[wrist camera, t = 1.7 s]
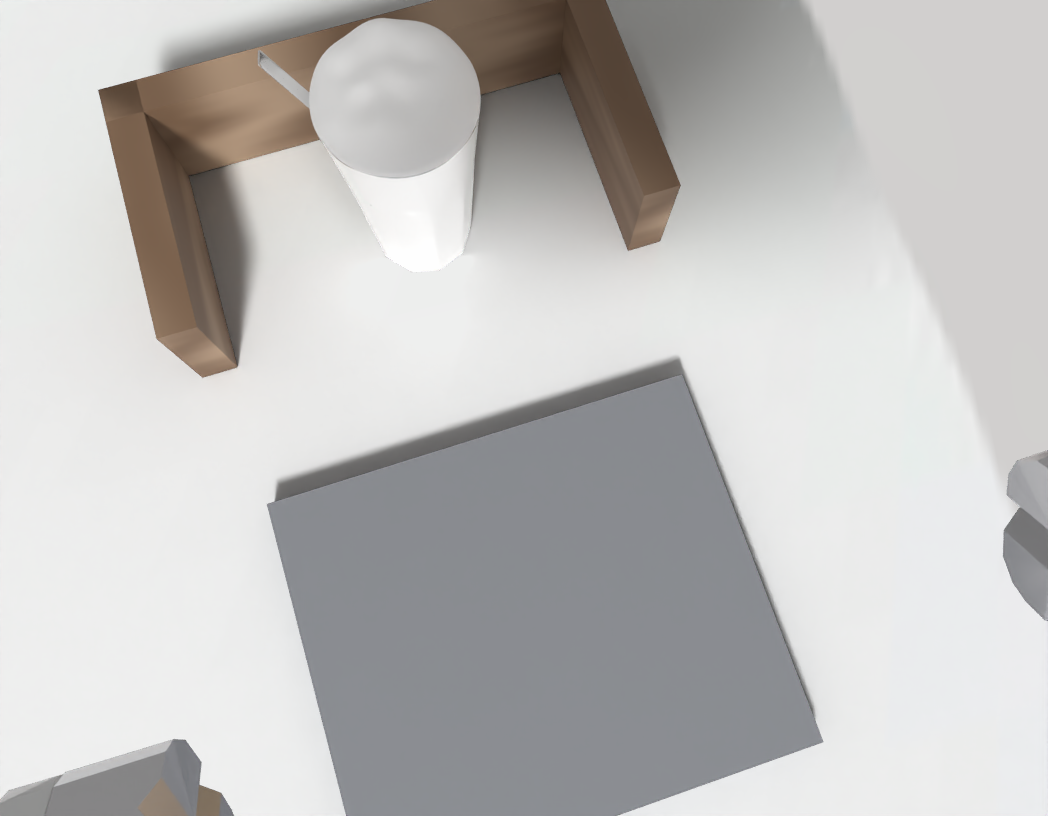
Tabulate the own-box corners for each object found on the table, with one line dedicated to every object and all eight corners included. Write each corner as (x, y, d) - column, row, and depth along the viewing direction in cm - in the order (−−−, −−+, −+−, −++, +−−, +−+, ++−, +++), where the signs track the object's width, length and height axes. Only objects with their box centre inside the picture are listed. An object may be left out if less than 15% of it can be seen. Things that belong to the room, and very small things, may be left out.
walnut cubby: (202, 377, 30) (156, 338, 26) (148, 156, 32) (98, 90, 28) (660, 241, 32) (680, 185, 28) (580, 37, 34) (589, -41, 30)
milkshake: (335, 177, 32) (258, -24, 22) (485, 169, 32) (473, -33, 22) (336, 296, 31) (256, 139, 21) (491, 287, 31) (482, 128, 21)
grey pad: (372, 896, 26) (368, 904, 25) (273, 507, 29) (266, 504, 28) (814, 739, 27) (823, 742, 27) (677, 381, 30) (682, 374, 29)
